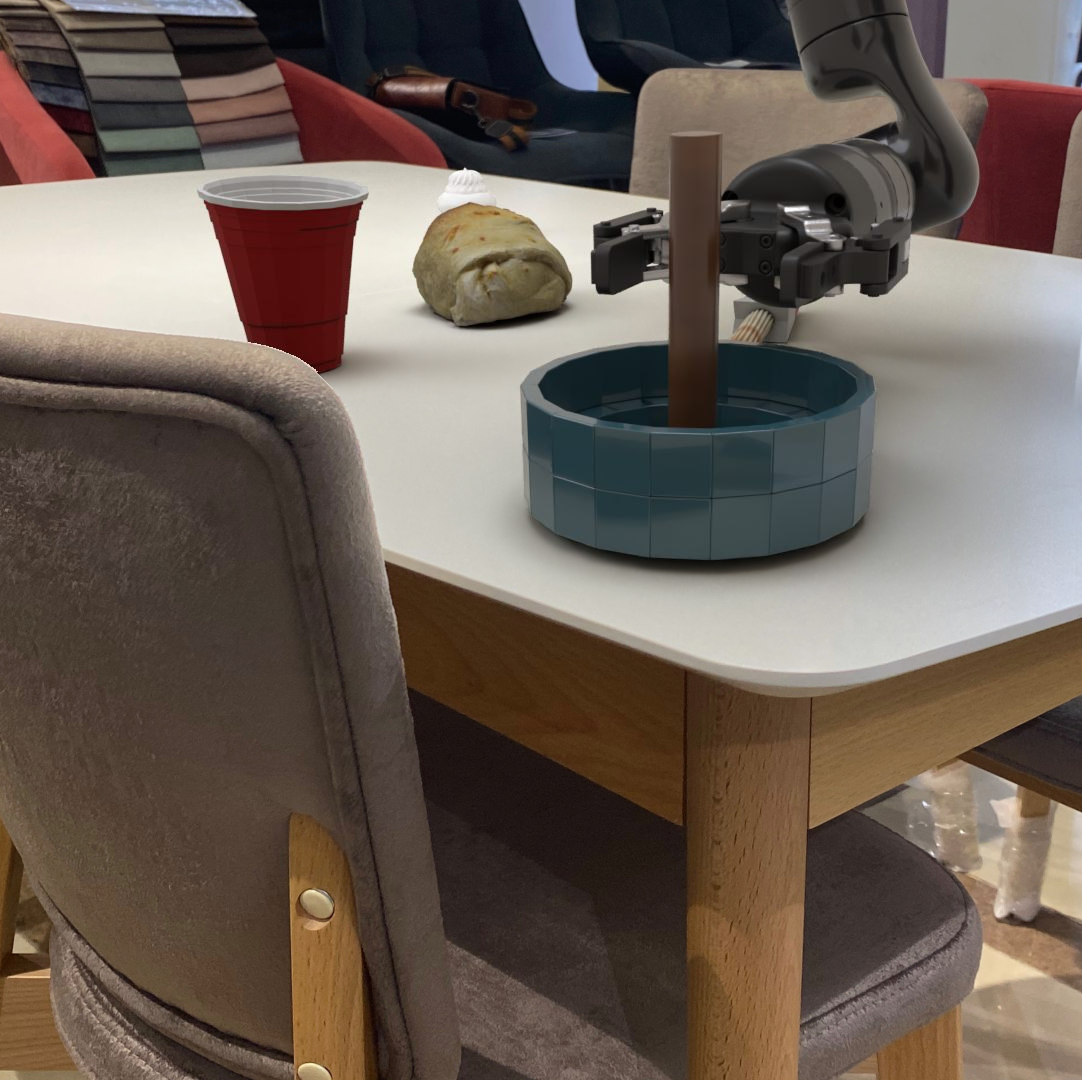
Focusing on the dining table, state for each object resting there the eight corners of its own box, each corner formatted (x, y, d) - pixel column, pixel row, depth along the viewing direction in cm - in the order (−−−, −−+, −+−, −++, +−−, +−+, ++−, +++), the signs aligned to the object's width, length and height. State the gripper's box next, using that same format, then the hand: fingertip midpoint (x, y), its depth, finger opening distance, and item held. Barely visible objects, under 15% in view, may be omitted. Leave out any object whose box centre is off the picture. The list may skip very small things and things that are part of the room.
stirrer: (752, 484, 61) (764, 129, 55) (718, 515, 57) (726, 139, 51) (666, 472, 63) (667, 128, 57) (628, 502, 59) (625, 138, 53)
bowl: (905, 476, 63) (914, 356, 61) (804, 599, 51) (811, 453, 48) (615, 438, 70) (613, 329, 68) (463, 537, 58) (455, 407, 55)
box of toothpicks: (814, 270, 96) (755, 346, 79) (813, 306, 97) (754, 389, 80) (762, 267, 97) (693, 342, 80) (761, 304, 98) (693, 384, 81)
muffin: (510, 237, 134) (507, 166, 131) (461, 244, 130) (457, 172, 128) (475, 230, 138) (471, 162, 136) (427, 238, 135) (422, 168, 132)
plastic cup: (325, 393, 80) (305, 195, 76) (185, 379, 85) (159, 190, 80) (412, 352, 89) (400, 173, 85) (283, 341, 94) (264, 169, 89)
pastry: (459, 287, 110) (454, 190, 107) (598, 294, 106) (596, 193, 103) (378, 323, 98) (370, 215, 95) (530, 333, 94) (526, 220, 91)
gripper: (684, 146, 70) (542, 183, 57) (952, 149, 64) (862, 192, 51) (683, 284, 73) (547, 350, 60) (940, 301, 67) (851, 378, 54)
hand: (692, 277), depth 55 cm, fingers open, 8 cm apart
